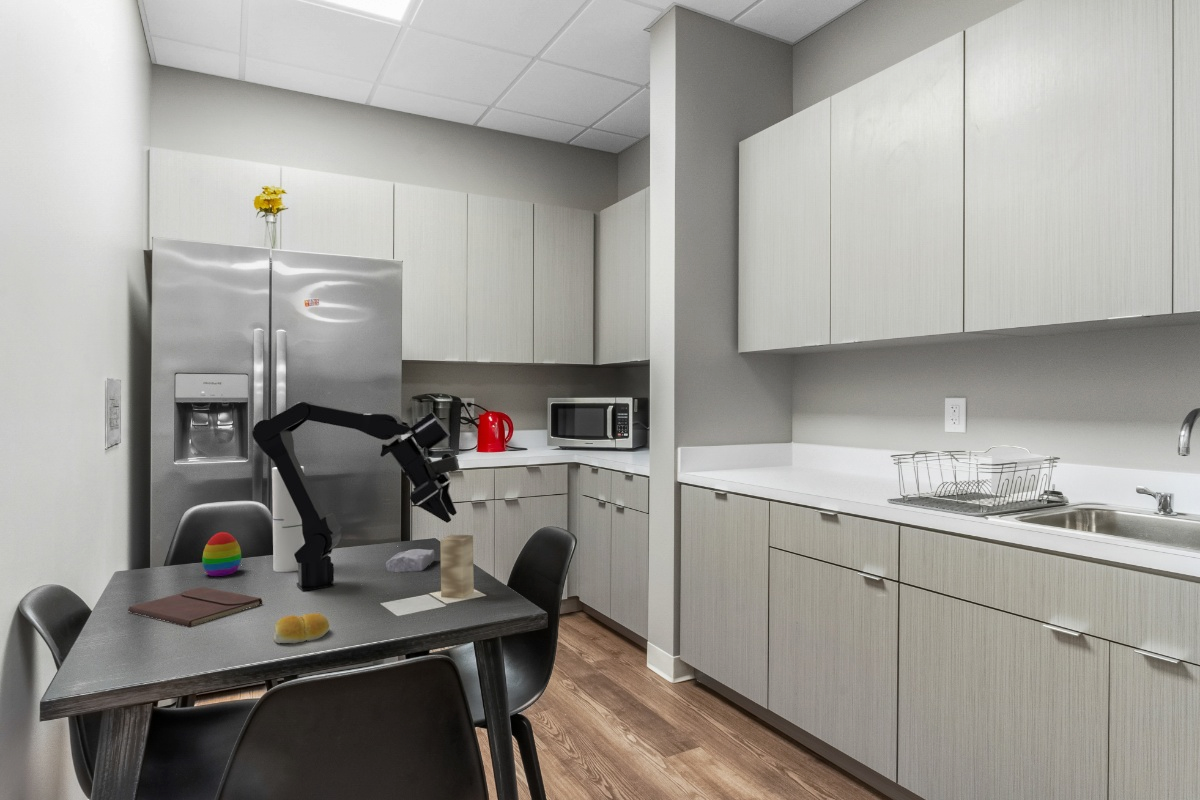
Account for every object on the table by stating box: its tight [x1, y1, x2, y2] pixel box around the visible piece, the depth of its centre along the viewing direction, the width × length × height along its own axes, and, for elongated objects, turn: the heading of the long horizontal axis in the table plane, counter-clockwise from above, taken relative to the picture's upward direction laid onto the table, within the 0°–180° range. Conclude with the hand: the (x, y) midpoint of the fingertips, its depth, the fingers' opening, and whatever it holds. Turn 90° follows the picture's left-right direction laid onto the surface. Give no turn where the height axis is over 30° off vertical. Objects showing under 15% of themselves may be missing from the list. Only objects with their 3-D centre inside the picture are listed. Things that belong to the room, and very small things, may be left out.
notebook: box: [127, 586, 263, 628], centre depth 134 cm, size 15×20×2 cm
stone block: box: [385, 548, 436, 573], centre depth 166 cm, size 12×5×10 cm
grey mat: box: [379, 593, 447, 617], centre depth 134 cm, size 10×10×1 cm
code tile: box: [428, 588, 487, 605], centre depth 141 cm, size 9×9×1 cm
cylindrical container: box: [271, 465, 305, 573], centre depth 166 cm, size 7×7×25 cm
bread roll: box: [272, 612, 330, 644], centre depth 118 cm, size 8×9×4 cm
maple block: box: [439, 534, 475, 598], centre depth 141 cm, size 5×5×12 cm
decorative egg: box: [202, 531, 242, 577], centre depth 161 cm, size 8×8×10 cm
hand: (452, 517), depth 152 cm, fingers open, 9 cm apart
